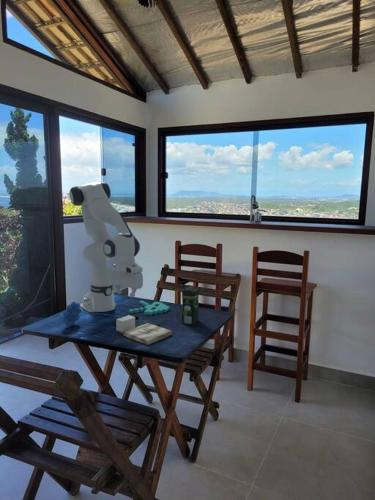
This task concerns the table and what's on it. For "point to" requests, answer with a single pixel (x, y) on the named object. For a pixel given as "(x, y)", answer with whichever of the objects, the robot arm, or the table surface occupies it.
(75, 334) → the table surface
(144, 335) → the birch board
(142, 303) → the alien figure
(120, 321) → the block
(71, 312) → the grapes
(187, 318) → the coffee jar
